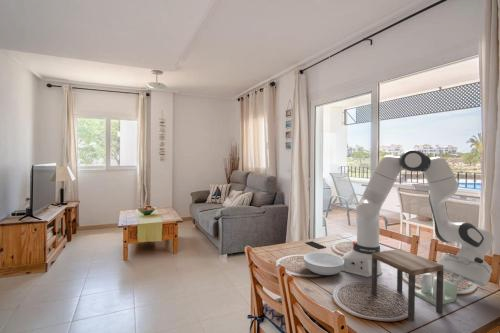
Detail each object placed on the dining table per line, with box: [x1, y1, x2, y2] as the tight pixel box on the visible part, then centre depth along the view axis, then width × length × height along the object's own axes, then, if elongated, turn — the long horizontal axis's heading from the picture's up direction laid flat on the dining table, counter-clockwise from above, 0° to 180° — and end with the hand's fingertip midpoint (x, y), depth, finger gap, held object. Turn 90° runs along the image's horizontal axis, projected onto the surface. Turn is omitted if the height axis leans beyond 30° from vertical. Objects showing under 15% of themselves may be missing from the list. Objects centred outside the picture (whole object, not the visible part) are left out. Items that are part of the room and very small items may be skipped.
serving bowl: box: [303, 252, 344, 276], centre depth 145 cm, size 21×21×7 cm
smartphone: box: [304, 240, 327, 250], centre depth 189 cm, size 7×1×15 cm
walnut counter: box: [370, 248, 444, 322], centre depth 113 cm, size 16×20×19 cm
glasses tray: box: [415, 273, 458, 307], centre depth 118 cm, size 12×10×10 cm
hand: (452, 283), depth 122 cm, fingers closed
